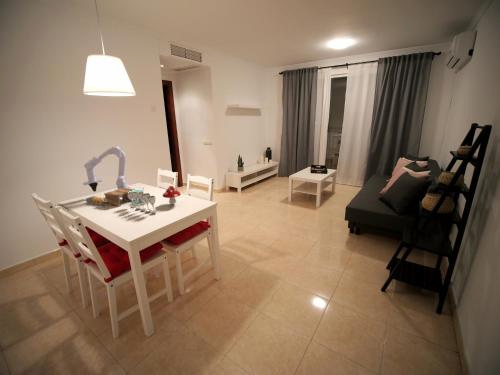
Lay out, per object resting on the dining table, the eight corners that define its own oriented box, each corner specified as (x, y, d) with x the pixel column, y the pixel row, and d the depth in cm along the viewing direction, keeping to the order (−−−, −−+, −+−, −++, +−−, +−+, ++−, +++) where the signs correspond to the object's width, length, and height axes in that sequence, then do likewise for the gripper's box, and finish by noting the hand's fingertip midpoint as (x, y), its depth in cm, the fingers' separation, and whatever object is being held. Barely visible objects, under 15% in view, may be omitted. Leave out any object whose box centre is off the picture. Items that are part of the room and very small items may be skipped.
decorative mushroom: (184, 203, 182) (182, 186, 178) (167, 208, 174) (165, 189, 170) (177, 199, 193) (175, 182, 189) (161, 203, 185) (159, 185, 181)
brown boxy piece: (124, 198, 199) (122, 188, 196) (136, 200, 194) (134, 189, 191) (106, 204, 184) (104, 193, 181) (118, 206, 178) (116, 195, 176)
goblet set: (159, 211, 168) (156, 194, 165) (152, 213, 163) (150, 196, 160) (134, 205, 181) (131, 189, 177) (127, 208, 176) (125, 191, 172)
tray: (94, 201, 193) (93, 195, 192) (109, 203, 187) (108, 197, 185) (86, 203, 188) (85, 197, 186) (101, 206, 181) (100, 199, 180)
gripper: (96, 174, 203) (99, 188, 206) (79, 177, 190) (83, 193, 193) (102, 174, 200) (104, 189, 204) (85, 178, 187) (88, 193, 191)
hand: (94, 191), depth 198 cm, fingers closed
